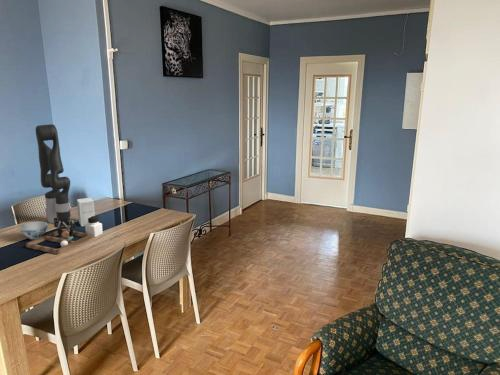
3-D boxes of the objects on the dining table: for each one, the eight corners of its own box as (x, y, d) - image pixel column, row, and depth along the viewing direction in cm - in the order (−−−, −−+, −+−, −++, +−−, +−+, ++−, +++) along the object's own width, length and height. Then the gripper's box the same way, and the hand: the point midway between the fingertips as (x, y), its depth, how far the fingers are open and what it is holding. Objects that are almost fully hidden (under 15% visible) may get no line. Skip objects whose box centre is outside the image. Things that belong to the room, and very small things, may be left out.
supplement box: (93, 220, 262) (91, 197, 258) (96, 224, 255) (94, 200, 251) (78, 222, 257) (76, 199, 253) (80, 226, 250) (78, 202, 245)
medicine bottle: (103, 233, 239) (101, 215, 236) (95, 237, 232) (93, 219, 229) (93, 232, 241) (92, 214, 238) (85, 235, 235) (84, 217, 232)
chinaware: (22, 234, 234) (21, 222, 232) (50, 231, 240) (48, 220, 238) (19, 243, 221) (17, 231, 219) (48, 240, 226) (46, 228, 225)
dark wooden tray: (25, 247, 216) (25, 243, 215) (62, 232, 239) (62, 228, 239) (57, 254, 208) (57, 250, 207) (92, 238, 231) (92, 234, 231)
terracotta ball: (60, 238, 228) (59, 231, 227) (66, 236, 232) (65, 229, 231) (65, 239, 227) (65, 232, 226) (71, 237, 231) (70, 230, 230)
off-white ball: (59, 247, 216) (58, 241, 215) (64, 245, 220) (64, 238, 219) (64, 248, 215) (63, 242, 214) (70, 246, 218) (69, 239, 217)
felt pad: (55, 239, 227) (55, 239, 227) (66, 235, 235) (66, 234, 235) (65, 241, 225) (65, 241, 225) (76, 237, 232) (76, 236, 232)
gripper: (48, 210, 224) (51, 235, 228) (67, 213, 219) (69, 239, 223) (59, 206, 231) (61, 231, 235) (77, 209, 226) (79, 234, 230)
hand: (65, 235), depth 229 cm, fingers open, 8 cm apart
